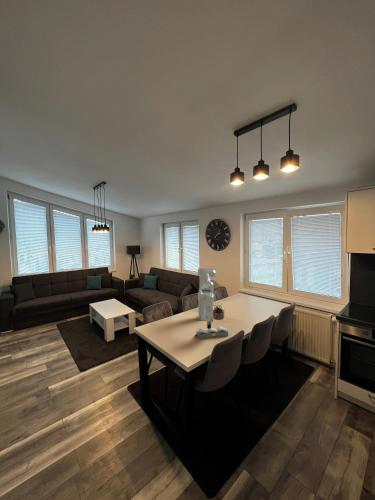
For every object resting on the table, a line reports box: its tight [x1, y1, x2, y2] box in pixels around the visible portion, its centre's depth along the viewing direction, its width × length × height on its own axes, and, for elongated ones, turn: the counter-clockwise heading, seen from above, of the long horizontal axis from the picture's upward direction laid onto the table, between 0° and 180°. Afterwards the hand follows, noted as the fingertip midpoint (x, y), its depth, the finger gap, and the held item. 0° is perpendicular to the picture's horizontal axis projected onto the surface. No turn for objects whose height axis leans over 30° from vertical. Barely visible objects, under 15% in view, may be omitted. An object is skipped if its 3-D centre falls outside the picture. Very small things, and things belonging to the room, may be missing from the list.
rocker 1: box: [198, 327, 208, 333], centre depth 188 cm, size 4×8×2 cm, turn 105°
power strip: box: [194, 328, 229, 340], centre depth 191 cm, size 7×31×5 cm, turn 104°
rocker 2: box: [208, 327, 218, 332], centre depth 190 cm, size 4×8×2 cm, turn 104°
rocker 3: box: [216, 326, 228, 331], centre depth 192 cm, size 4×8×2 cm, turn 104°
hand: (209, 328), depth 189 cm, fingers closed
